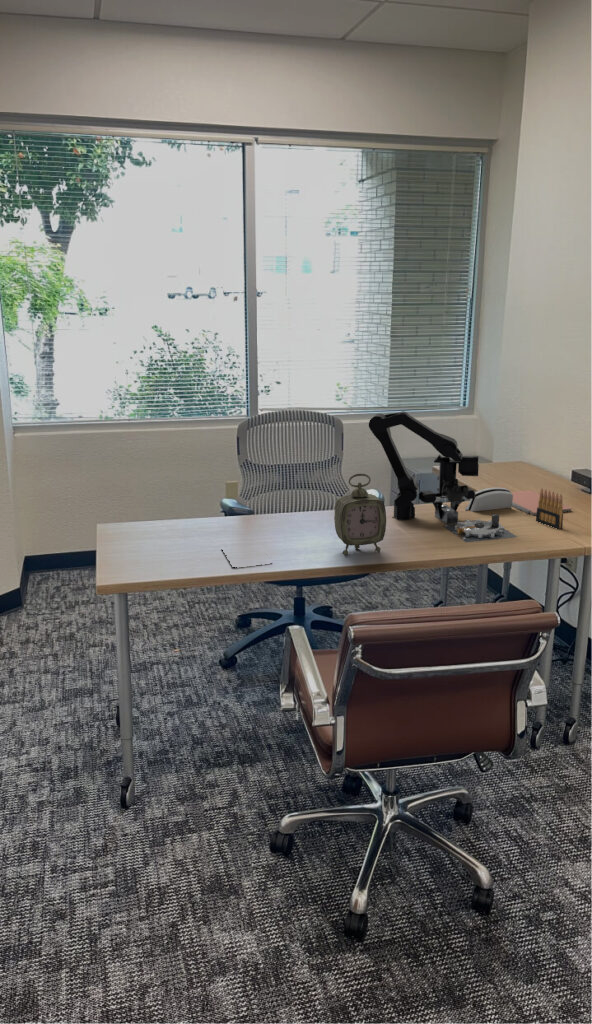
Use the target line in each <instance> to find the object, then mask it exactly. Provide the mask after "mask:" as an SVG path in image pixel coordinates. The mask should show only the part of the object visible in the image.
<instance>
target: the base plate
mask: <svg viewBox="0 0 592 1024" xmlns="http://www.w3.org/2000/svg"><path fill="white" fill-rule="evenodd" d="M455 525H457V524H448V525H447V524H445V525H442V527H443V528H445V529H446V530H447V531H449V532H451V533H452V534H453V535H455V536H456V537H458V538H459V539H461V540H462V541H464V543H473V542H475V543H476V542H483V541H492V540H501V539H502V540H503V539H510V538H518V536H517V535H516V534H514V533H512V532H510V531H509V530H507V529H505V528H504V532H502V535H501V536H500V535H494V538H490V537H482V538H478V537H476V536H470V537H467V536H466V534H458V533H457V530H455Z"/></svg>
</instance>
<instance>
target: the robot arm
mask: <svg viewBox="0 0 592 1024" xmlns="http://www.w3.org/2000/svg"><path fill="white" fill-rule="evenodd" d="M396 426H403V427H405V428H406V429H408V430H409V431H411V432H413V433H414V434H415V435H417V436H419V438H420V437H421V438H422V439H423V440H425V441H427V442H428V443H429V444H430V445H431V446H432V447H433V448H434V450H436V451H437V452H438V453H440V454H438V455H437V456H436V457H435V458H434V460H433V463H435V464H436V463H438V464H439V468H438V469H439V472H438V473H439V474H438V476H437V480H438V487H436V488H437V490H436V491H437V492H433V491H432V490H421V491H420V484H419V482H418V481H417V478H416V475H415V474H414V475H413V476H412V475H410V473H409V472H408V471H407V468H406V466H405V464H404V461H403V459H402V457H401V455H400V453H399V450H398V447H397V446H396V443H395V442H394V440H393V437H392V433H391V428H393V427H396ZM368 428H369V430H370V431H371V433H372V435H373V436H374V437H375V438H376V439H377V441H379V443H380V445H381V446H382V449H383V451H384V453H385V455H386V458H387V459H388V462H389V463H390V464H389V465H390V466H391V469H392V471H393V472H394V474H395V477H396V480H397V486H398V491H399V492H398V493H397V494H396V497H394V498H395V499H394V500H393V516H392V517H391V518H392V519H395V520H397V521H398V520H399V521H409V520H412V519H415V517H416V513H415V512H416V507H415V504H414V503H413V501H415V500H416V499H417V497H418V500H420V501H422V502H423V503H425V504H428V503H432V505H433V507H434V508H435V509H436V512H437V514H438V517H439V519H440V520H439V519H438V520H439V521H441V519H442V505H444V504H443V503H444V502H443V501H442V499H446V498H447V500H448V501H449V502H450V506H449V507H451V508H452V509H454V510H456V511H457V510H458V507H459V506H460V504H462V502H463V503H465V502H466V499H467V500H470V499H474V498H475V492H476V491H475V490H474V489H472V488H470V487H469V486H468V484H467V485H459V481H458V480H459V479H458V478H457V472H458V473H459V474H460V475H461V477H479V473H480V471H479V468H480V467H479V466H480V465H479V459H480V458H479V456H478V455H473V456H470V455H469V456H467V455H463V453H462V452H461V451H460V450H461V449H459V448H458V441H457V440H456V439H455V438H453V437H451V436H448V435H447V434H443V433H440V432H437V431H435V430H434V429H432V428H431V427H429V426H428V425H426V424H425V423H423V422H421V421H420V420H418V419H416V418H415V417H414V416H412V415H411V414H409V413H408V412H407V411H399V412H393V413H387V414H383V413H376V414H374V415H373V416H372V417H371V418H370V419H369V422H368ZM457 464H458V466H457ZM457 467H458V471H457ZM418 493H419V494H418ZM464 497H465V499H464ZM435 509H434V510H435Z"/></svg>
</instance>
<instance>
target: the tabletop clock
mask: <svg viewBox="0 0 592 1024" xmlns="http://www.w3.org/2000/svg"><path fill="white" fill-rule="evenodd" d="M356 477H366V478H367V479H368V481H367V482H366V483H364V484H362V482H358V483H357V484H352V483H351V481H352V479H353V478H356ZM371 481H372V480H371V477H370V476H369V474H366V473H356V474H352V475H351V477H349V479H348V484H349V486H351V487H354V489H353V490H352V491H351V494H348V495H343V496H341V497H338V498H337V499H336V502H335V506H334V518H333V519H334V528H335V529H334V530H335V534H336V535H337V537H338V539H340V541H342V543H343V544H344V545H345V549H344V550H342V554H343V555H344V556H348V555H349V552H348V549H349V547H350V546H354V549H356V550H359V549H360V547H361V546H366V545H374V547H375V551H376V552H377V553H380V551H382V548H381V547H380V546H378V544H377V543H380V542H381V541H383V540H384V537H385V536H386V535H385V534H386V530H387V529H386V527H387V511H386V507H385V503H384V501H383V500H382V499H380V498H379V497H378V496H377V495H376V494H375V495H374V494H372V493H369V492H368V491H367V490H366V489H365V487H366V486H369V484H370V483H371ZM358 548H359V549H358Z"/></svg>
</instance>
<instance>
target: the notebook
mask: <svg viewBox="0 0 592 1024" xmlns="http://www.w3.org/2000/svg"><path fill="white" fill-rule="evenodd" d="M510 492H511V493H512V494H513V501H512V507H511V508H513V507H514V509H515V508H516V510H518V511H523V510H524V511H523V512H525V514H526V513H527V514H526V515H529V513H530V515H531V514H532V515H531V516H536V515H537V507H538V503H539V497H540V493H537V492H535V491H533V490H530V489H528V490H521V491H520V490H519V491H510ZM562 506H563V509H562V513H565V512H566V513H567V511H568V512H571V511H572V510H573V508H572V507H570V506H569V505H568V506H567V505H565V504H563V503H562Z"/></svg>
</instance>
